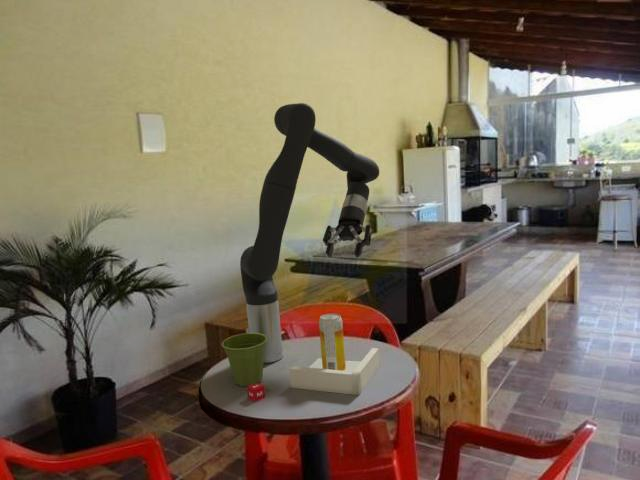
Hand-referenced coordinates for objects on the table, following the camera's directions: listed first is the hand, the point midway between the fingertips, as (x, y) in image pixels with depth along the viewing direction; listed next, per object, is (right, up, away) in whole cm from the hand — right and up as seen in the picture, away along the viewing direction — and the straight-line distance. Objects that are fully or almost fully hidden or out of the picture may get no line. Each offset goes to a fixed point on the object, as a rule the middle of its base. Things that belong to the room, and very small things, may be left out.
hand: (342, 255), depth 146 cm
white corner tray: (-2, -31, -15) cm, 34 cm away
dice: (-22, -34, -23) cm, 47 cm away
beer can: (-3, -30, -13) cm, 33 cm away
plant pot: (-25, -33, -13) cm, 44 cm away
